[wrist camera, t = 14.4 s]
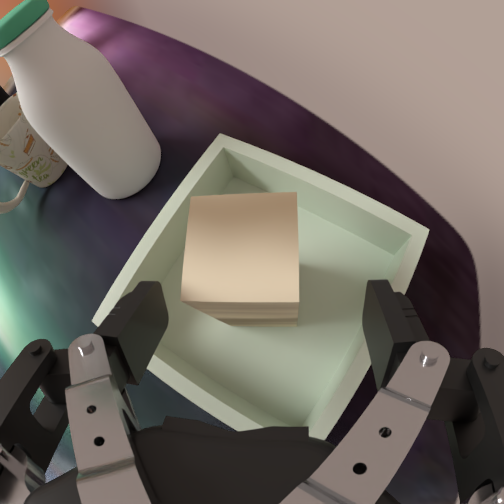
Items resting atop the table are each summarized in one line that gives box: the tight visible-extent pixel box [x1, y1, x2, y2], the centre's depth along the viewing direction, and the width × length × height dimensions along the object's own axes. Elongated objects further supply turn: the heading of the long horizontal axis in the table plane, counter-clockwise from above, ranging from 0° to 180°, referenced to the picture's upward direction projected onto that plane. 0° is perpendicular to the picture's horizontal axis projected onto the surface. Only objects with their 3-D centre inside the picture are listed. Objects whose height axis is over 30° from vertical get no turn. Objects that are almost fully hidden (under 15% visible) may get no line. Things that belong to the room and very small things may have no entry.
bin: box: [92, 134, 429, 440], centre depth 20 cm, size 16×16×5 cm
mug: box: [0, 93, 68, 214], centre depth 25 cm, size 8×13×10 cm, turn 163°
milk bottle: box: [0, 0, 161, 199], centre depth 19 cm, size 8×8×20 cm
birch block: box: [180, 192, 299, 327], centre depth 17 cm, size 4×4×10 cm
